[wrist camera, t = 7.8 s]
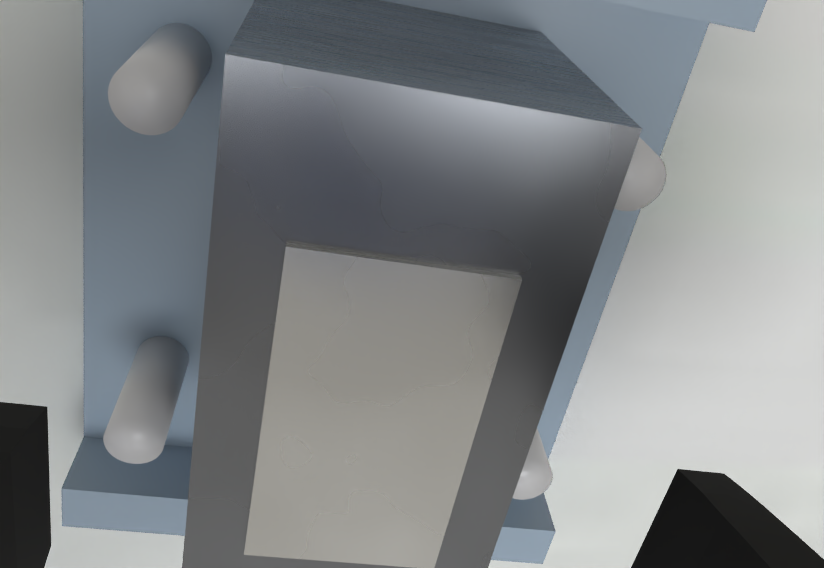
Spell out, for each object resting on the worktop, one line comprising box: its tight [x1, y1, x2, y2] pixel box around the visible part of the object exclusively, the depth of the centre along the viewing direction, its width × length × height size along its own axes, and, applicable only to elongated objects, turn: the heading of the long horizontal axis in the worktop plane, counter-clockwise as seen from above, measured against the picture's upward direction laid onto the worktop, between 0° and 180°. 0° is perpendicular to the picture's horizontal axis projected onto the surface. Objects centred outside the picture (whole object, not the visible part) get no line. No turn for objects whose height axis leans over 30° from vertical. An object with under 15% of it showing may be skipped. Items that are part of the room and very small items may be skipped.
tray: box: [62, 0, 767, 564], centre depth 14 cm, size 14×10×4 cm
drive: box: [182, 0, 642, 568], centre depth 12 cm, size 8×4×5 cm, turn 169°
